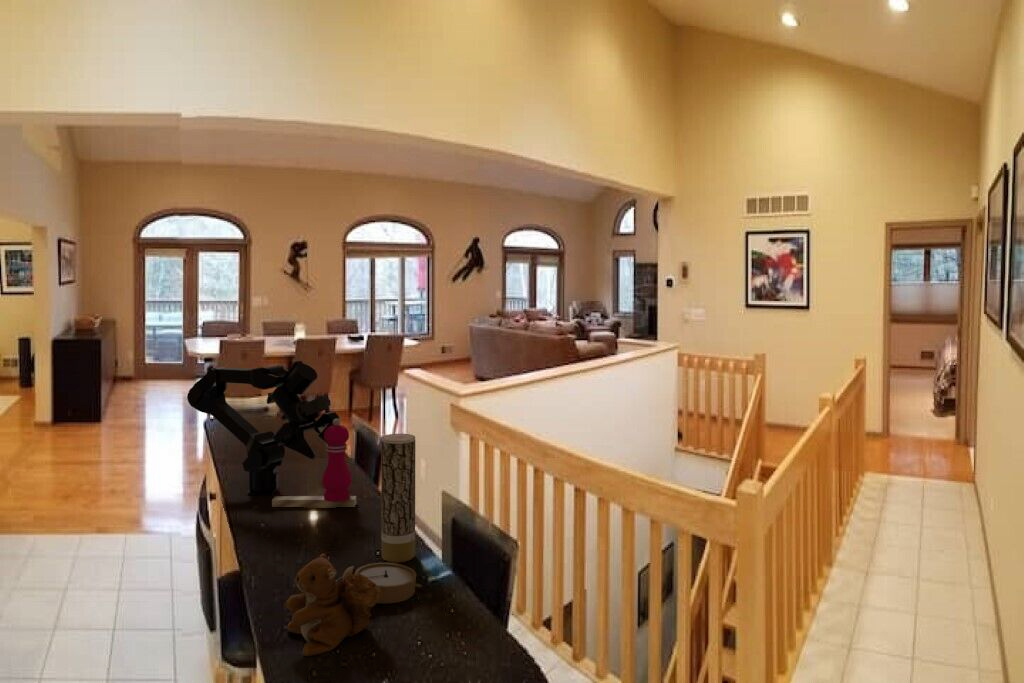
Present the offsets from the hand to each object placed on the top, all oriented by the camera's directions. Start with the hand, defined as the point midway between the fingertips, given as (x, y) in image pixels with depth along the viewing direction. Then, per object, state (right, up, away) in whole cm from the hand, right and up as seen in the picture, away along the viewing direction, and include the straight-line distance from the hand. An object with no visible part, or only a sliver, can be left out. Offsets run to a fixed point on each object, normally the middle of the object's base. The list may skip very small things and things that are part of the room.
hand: (326, 453), depth 178 cm
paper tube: (+23, -16, -32) cm, 43 cm away
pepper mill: (+3, -11, -1) cm, 11 cm away
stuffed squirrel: (+18, -19, -64) cm, 69 cm away
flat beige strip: (-3, -13, -1) cm, 13 cm away
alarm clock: (+22, -18, -49) cm, 56 cm away
